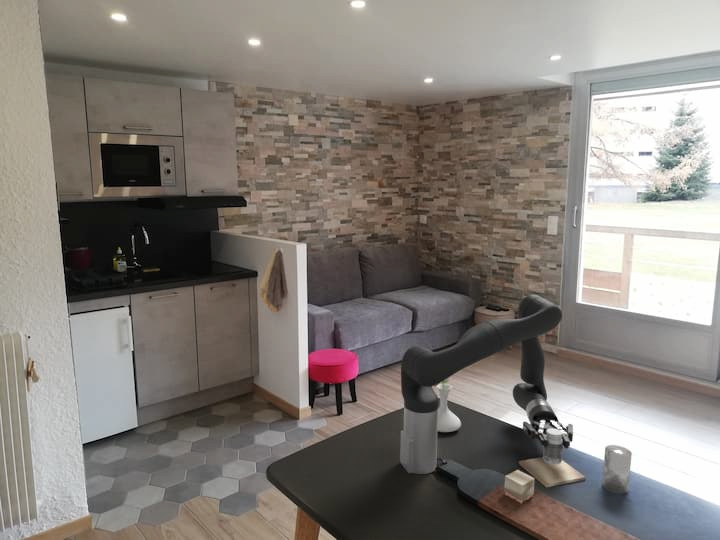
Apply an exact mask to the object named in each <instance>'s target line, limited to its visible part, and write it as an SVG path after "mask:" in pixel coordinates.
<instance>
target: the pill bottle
mask: <svg viewBox="0 0 720 540" xmlns="http://www.w3.org/2000/svg"><path fill="white" fill-rule="evenodd" d="M545 436H546V438H547V441H548V443H547V447H544V446H543V453H542V455H543V456H542V457H543V459H544V461H545V462H547V463H549V464H554V465H557V464H560V463H561V462H562V460H563V450H564V446H563V439H562V432H561V431H560V430H558V429H554V428H550V429H547V431H546V435H545Z"/></svg>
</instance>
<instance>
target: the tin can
mask: <svg viewBox="0 0 720 540" xmlns="http://www.w3.org/2000/svg"><path fill="white" fill-rule="evenodd" d="M603 460H604V461H603V472H602V481H601V482H602V483H601V485H602V487H603V488H604V489H605V490H606V491H608V492H609V493H613V494H617V495H626V494H627V493H628V492H629V488H630V487H629V486H630V485H629V484H630V476H631V475H630V474H631V465H632V464H631V463H632V451H631V450H630V449H628V448H626V447H624V446H621V445H617V444H615V445H614V444H610V445H607V446H605V449H604V459H603Z"/></svg>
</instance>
